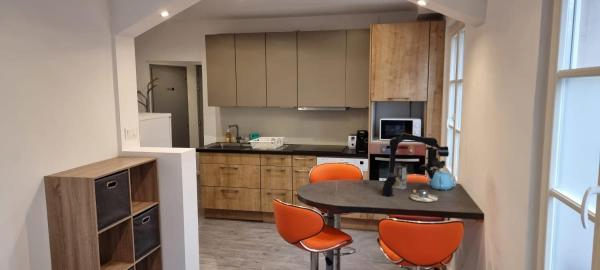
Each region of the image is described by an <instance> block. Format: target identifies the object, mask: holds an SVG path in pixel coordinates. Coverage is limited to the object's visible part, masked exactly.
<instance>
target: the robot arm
mask: <svg viewBox="0 0 600 270" xmlns="http://www.w3.org/2000/svg"><path fill="white" fill-rule="evenodd" d="M405 140H408V141H413V142H418V143H421V144H425V145H426V147H425V148H424V149H425V150H427V157H426V159H425V160H427V162H426V163H425V164H421V165H420V166H419V170H421V171H426V172H427V174H428V175H429V177H430V180H431V179H433V176H434V174H435V172H438V170H441V169H444V167H445V166H446V160H439V158H438V157H437V156H439V157H442V158H443V157H445V158H446V157H447V158H448V157H449V155H450V152H449V146H440V145H439V143H438V140H437V139H436V138H435V137H430V136H429V137H428V136H426V137H425V136H419V135H414V134H410V133H406V132H403V133H401V134H400V135H398V136H396V137H392V138H390V140H389V149H390V150H389V151H390V152H389V165H388V166H389V167H388V173H387V177H386V179H385V180H384V181H383V183H382V184H383V186H382V193H381V194H380V195H381V196H383V197H392V196H394V194H393V192H394V191H393V189H394V188H392V185H394V184H395V181H396V176H397V175H396V174H394V169H395V166H396V155H397V153H396V152H397V150H398V146H399V145H400V144H401V143H402V142H403V141H405ZM434 147H435V148H434ZM428 175H427V176H428Z"/></svg>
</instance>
